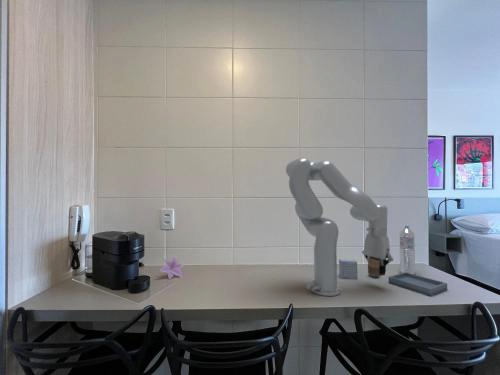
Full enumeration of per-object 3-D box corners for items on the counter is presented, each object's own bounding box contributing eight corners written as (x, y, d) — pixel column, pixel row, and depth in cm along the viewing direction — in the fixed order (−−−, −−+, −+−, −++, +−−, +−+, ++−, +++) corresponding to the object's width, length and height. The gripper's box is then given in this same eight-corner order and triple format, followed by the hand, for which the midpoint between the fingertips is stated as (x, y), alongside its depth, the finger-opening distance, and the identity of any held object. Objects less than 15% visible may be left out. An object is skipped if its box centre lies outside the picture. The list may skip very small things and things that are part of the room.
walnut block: (378, 276, 112) (378, 260, 112) (367, 273, 116) (368, 257, 116) (385, 275, 114) (385, 259, 114) (374, 271, 118) (375, 256, 119)
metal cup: (375, 279, 126) (375, 267, 126) (366, 276, 130) (366, 264, 130) (381, 277, 128) (381, 265, 128) (372, 274, 133) (372, 263, 133)
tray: (430, 296, 105) (430, 289, 105) (388, 283, 120) (388, 276, 120) (447, 290, 111) (447, 283, 112) (405, 278, 127) (405, 272, 127)
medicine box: (354, 276, 130) (354, 259, 130) (357, 279, 126) (357, 261, 126) (338, 275, 131) (338, 258, 131) (341, 278, 127) (341, 261, 127)
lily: (155, 282, 125) (161, 267, 122) (158, 266, 136) (164, 252, 133) (179, 287, 129) (185, 272, 126) (180, 271, 140) (186, 257, 137)
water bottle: (400, 270, 140) (399, 224, 140) (414, 272, 136) (414, 225, 137) (399, 273, 134) (399, 226, 134) (415, 275, 130) (414, 227, 131)
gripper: (356, 229, 121) (355, 267, 121) (390, 235, 106) (389, 279, 106) (366, 229, 125) (365, 266, 124) (401, 234, 110) (400, 276, 109)
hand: (376, 271), depth 115 cm, fingers closed on walnut block, 5 cm apart
